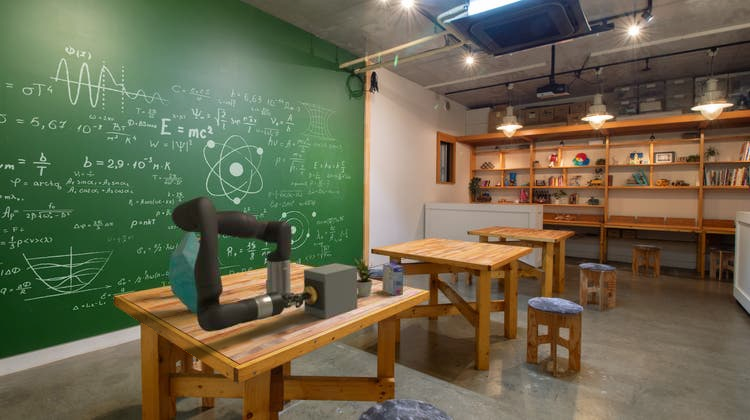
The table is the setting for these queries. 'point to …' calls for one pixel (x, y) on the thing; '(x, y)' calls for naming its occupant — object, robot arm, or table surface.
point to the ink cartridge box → (393, 278)
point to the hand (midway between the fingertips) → (308, 295)
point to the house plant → (364, 279)
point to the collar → (320, 288)
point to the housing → (334, 289)
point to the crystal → (184, 271)
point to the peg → (311, 294)
